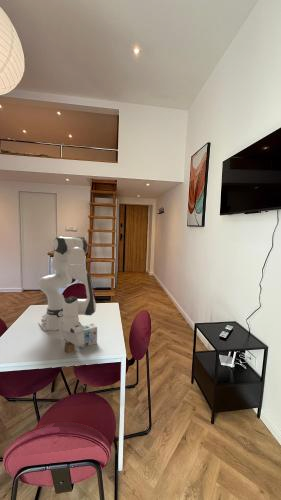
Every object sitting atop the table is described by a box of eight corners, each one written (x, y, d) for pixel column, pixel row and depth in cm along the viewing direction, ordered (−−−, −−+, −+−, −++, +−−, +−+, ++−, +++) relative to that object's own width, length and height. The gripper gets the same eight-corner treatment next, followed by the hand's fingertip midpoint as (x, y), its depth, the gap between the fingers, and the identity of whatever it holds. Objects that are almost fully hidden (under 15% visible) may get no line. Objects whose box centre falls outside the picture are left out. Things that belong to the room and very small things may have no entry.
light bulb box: (81, 348, 133) (81, 331, 132) (77, 343, 138) (77, 326, 137) (97, 343, 139) (97, 326, 138) (93, 338, 144) (93, 322, 143)
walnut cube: (64, 351, 129) (64, 343, 128) (71, 347, 133) (71, 339, 132) (69, 354, 126) (69, 346, 125) (76, 350, 130) (76, 342, 129)
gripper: (56, 322, 132) (56, 344, 133) (76, 332, 119) (77, 356, 121) (65, 318, 137) (65, 340, 138) (86, 328, 124) (86, 351, 125)
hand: (71, 347), depth 129 cm, fingers open, 7 cm apart
